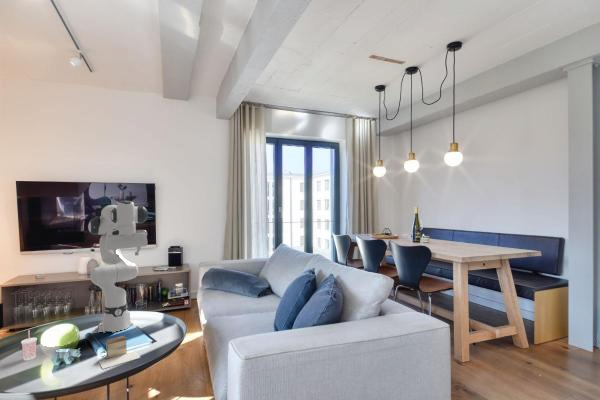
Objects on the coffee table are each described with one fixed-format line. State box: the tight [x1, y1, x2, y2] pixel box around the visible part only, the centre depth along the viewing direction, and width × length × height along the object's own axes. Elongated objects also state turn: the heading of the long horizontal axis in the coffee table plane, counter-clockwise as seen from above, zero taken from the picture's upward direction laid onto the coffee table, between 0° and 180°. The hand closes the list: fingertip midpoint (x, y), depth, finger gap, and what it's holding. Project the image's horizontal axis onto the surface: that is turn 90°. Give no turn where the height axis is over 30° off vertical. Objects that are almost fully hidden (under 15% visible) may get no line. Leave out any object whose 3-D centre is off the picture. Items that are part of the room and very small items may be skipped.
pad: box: [98, 350, 141, 370], centre depth 158 cm, size 9×16×1 cm, turn 131°
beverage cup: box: [20, 329, 38, 361], centre depth 162 cm, size 6×6×14 cm
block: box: [105, 335, 128, 359], centre depth 163 cm, size 4×8×8 cm, turn 131°
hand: (127, 256), depth 176 cm, fingers open, 8 cm apart
